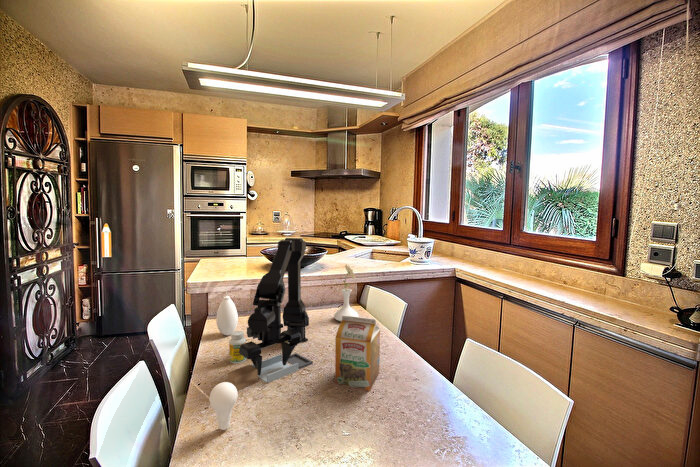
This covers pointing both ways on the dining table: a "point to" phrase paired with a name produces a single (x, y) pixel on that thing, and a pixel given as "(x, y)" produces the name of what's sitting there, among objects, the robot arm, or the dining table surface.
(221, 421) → the lightbulb
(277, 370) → the grey bracket
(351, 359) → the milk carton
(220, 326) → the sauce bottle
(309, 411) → the dining table surface
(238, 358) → the supplement bottle
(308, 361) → the dark gray shallow tray
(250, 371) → the block
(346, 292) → the flower in vase
